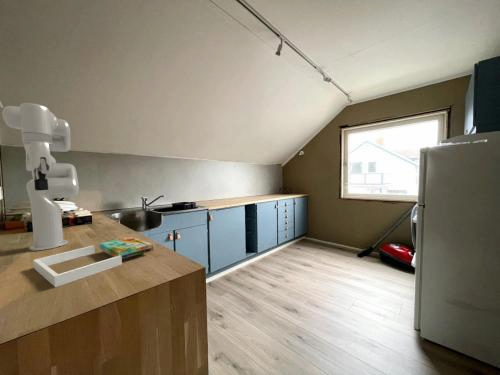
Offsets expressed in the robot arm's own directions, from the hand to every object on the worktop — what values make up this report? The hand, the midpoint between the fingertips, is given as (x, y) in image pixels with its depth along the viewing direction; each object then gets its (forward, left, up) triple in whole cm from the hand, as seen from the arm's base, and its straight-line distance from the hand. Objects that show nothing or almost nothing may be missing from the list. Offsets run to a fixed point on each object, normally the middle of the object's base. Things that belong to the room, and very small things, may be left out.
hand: (41, 190), depth 75 cm
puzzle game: (+19, +19, -27) cm, 38 cm away
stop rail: (+18, +26, -27) cm, 41 cm away
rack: (+18, +5, -27) cm, 32 cm away
